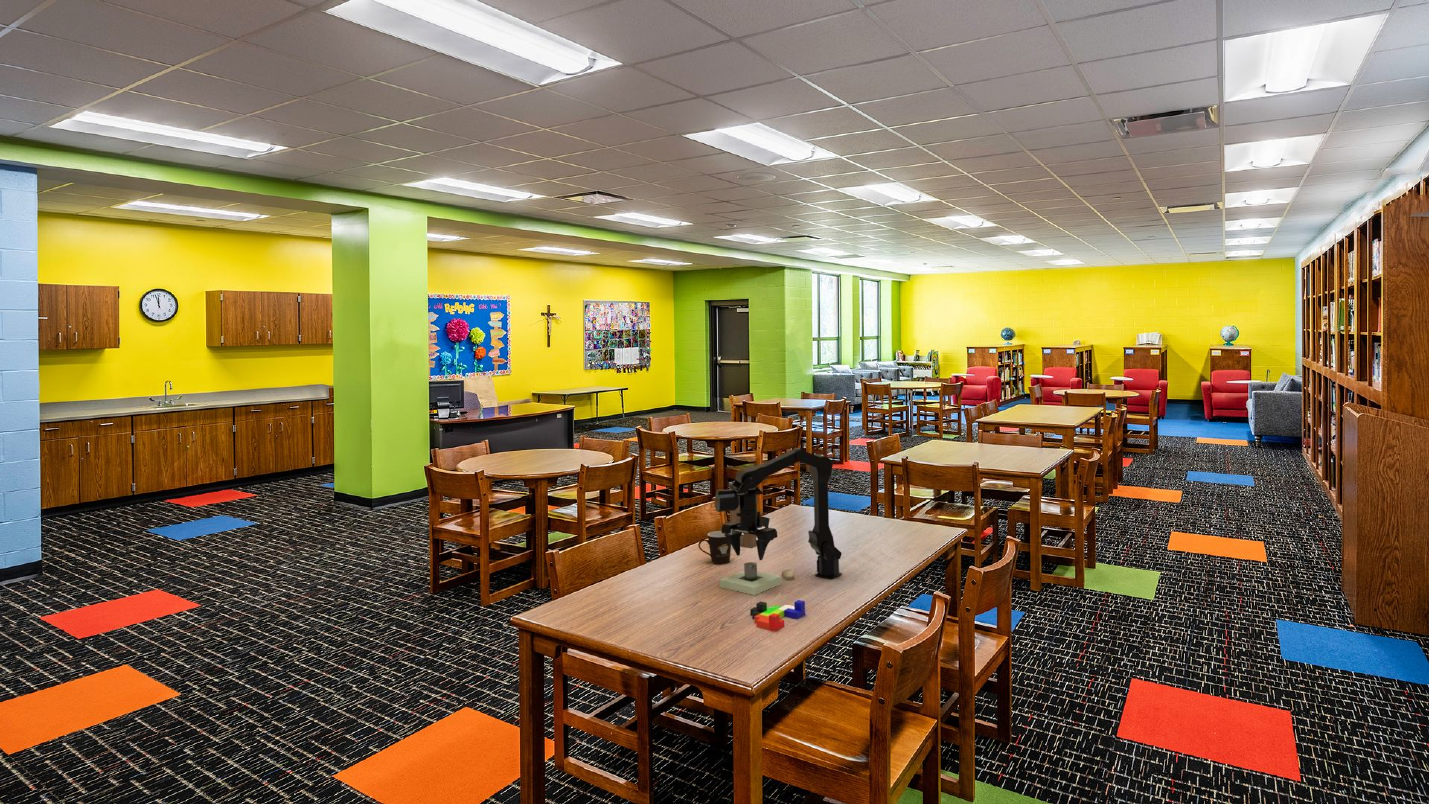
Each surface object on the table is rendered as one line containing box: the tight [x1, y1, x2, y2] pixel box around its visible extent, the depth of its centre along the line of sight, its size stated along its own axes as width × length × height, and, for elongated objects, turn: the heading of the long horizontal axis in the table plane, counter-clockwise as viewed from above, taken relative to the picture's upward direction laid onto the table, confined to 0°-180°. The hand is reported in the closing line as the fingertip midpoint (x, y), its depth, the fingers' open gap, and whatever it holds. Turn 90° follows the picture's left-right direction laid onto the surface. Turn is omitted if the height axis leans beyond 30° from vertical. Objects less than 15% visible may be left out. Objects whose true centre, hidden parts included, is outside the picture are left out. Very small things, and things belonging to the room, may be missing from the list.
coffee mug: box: [697, 530, 732, 565], centre depth 275 cm, size 12×9×10 cm
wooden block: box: [729, 506, 757, 549], centre depth 297 cm, size 4×11×18 cm, turn 51°
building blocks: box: [749, 599, 806, 632], centre depth 217 cm, size 15×13×4 cm
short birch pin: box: [781, 568, 795, 581], centre depth 254 cm, size 4×4×2 cm
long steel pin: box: [743, 561, 758, 582], centre depth 247 cm, size 4×4×7 cm
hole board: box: [719, 570, 783, 596], centre depth 247 cm, size 14×14×2 cm
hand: (749, 557), depth 247 cm, fingers open, 9 cm apart
